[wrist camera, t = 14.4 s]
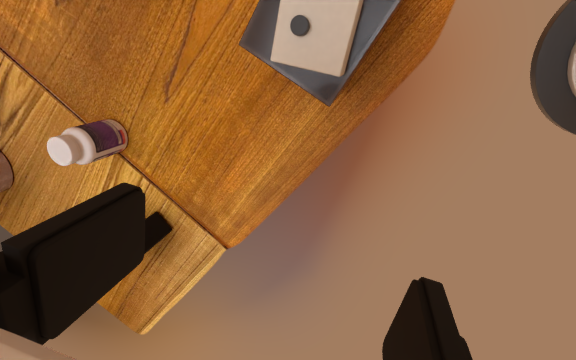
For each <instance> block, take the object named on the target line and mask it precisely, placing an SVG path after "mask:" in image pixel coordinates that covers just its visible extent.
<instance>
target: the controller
mask: <svg viewBox="0 0 576 360" xmlns="http://www.w3.org/2000/svg"><path fill="white" fill-rule="evenodd" d="M363 1H364V0H280V6H279V12H278V18H277V24H276V29H275V35H274V41H273V47H272V53H271V59H270V60H271V61H273V62H277V63H282V64H286V65H290V66H294V67H299V68H303V69H307V70H312V71H316V72H320V73H324V74H329V75H333V76H337V77H340V76H342V75H344V72H345V69H346V65H347V61H348V57H349V53H350V50H351V46H352V42H353V38H354V35H355V31H356V27H357V23H358V19H359V16H360V12H361V8H362V4H363Z"/></svg>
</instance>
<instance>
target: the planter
mask: <svg viewBox="0 0 576 360" xmlns="http://www.w3.org/2000/svg"><path fill="white" fill-rule="evenodd" d="M12 182H13V173H12V169H11V166H10V164H9V162H8V160H7V159H6V157H5V156H4V155H3V154H2V153H1V152H0V192H2V191H5V190H7V189H9V188H10V187H11V185H12Z"/></svg>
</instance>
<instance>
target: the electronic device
mask: <svg viewBox="0 0 576 360" xmlns="http://www.w3.org/2000/svg"><path fill="white" fill-rule="evenodd" d="M171 230H172V229H171V228H170V226H169V225H168V224H167V223H166V222H165V221H164V219H163V218H162V217H161V216H160V215H159V214H158V213H157V212H155V213H154V214H152V215H151V216H149V217H148V218H146V219H145V253H146V252H147V251H149V250H150V249H151V248H152V247H153V246H154V245H156V244H157V243H158V242H159V241H160V240H161V239H163V238H164V237H165V236H166V235H167V234H168V233H170V232H171Z"/></svg>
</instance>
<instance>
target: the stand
mask: <svg viewBox="0 0 576 360" xmlns="http://www.w3.org/2000/svg"><path fill="white" fill-rule="evenodd" d="M403 2H404V0H364V1H363V4H362V8H361V12H360V16H359V19H358V23H357V27H356V31H355V35H354V38H353V42H352V46H351V50H350V53H349V57H348V61H347V65H346V69H345V72H344V75H342V76H340V77H337V76H333V75H329V74H324V73H320V72H316V71H312V70H307V69H303V68H299V67H294V66H290V65H286V64H282V63H277V62H273V61H271V60H270V59H271V53H272V47H273V41H274V35H275V29H276V24H277V18H278V12H279V6H280V0H259V2H258V4H257V7H256V9H255V11H254V13H253V15H252V17H251V19H250V21H249V23H248V26H247V28H246V30H245V32H244V34H243V36H242V38H241V40H240V42H239V45H240V46H241V47H243V48H244V49H246V50H247V51H249V52H250V53H252V54H253V55H254V56H256V57H257V58H259V59H260V60H262V61H263V62H265V63H266V64H268V65H269V66H270V67H272V68H273V69H275V70H276V71H278V72H279V73H281V74H282V75H284V76H285V77H286V78H288V79H289V80H291V81H292V82H294V83H295V84H297V85H298V86H300V87H301V88H302V89H304V90H305V91H307V92H308V93H310V94H311V95H313V96H314V97H316V98H317V99H318V100H320V101H321V102H323V103H324V104H326V105H327V106H329V107H330V106H331V104H332V103H333V102H334V101H335V100H336V99H337V97H338V96H339V95H340V94H341V93H342V92H343V90H344V89H345V87H346V86H347V84H348V83H349V82H350V80H351V79H352V77H353V76H354V74H355V73H356V71H357V70H358V68H359V67H360V65H361V64H362V62H363V61H364V59H365V58H366V56H367V55H368V53H369V52H370V51H371V49H372V48H373V46H374V45H375V43H376V42H377V40H378V39H379V37H380V36H381V34H382V33H383V31H384V30H385V28H386V27H387V25H388V24H389V23H390V21H391V20H392V18H393V17H394V15H395V14H396V12H397V11H398V9H399V8H400V6H401V5H402V3H403Z"/></svg>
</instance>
